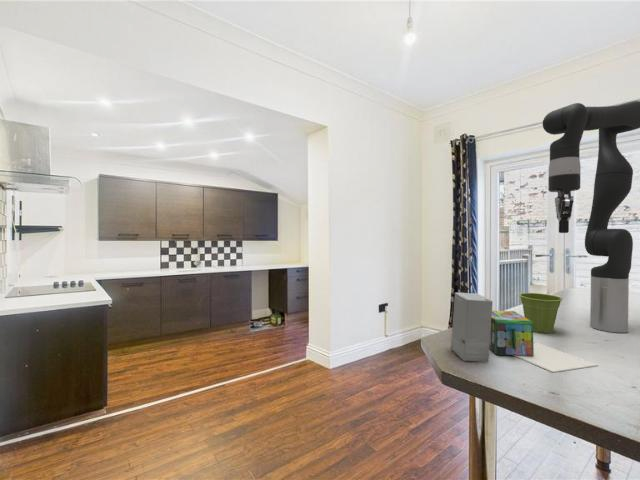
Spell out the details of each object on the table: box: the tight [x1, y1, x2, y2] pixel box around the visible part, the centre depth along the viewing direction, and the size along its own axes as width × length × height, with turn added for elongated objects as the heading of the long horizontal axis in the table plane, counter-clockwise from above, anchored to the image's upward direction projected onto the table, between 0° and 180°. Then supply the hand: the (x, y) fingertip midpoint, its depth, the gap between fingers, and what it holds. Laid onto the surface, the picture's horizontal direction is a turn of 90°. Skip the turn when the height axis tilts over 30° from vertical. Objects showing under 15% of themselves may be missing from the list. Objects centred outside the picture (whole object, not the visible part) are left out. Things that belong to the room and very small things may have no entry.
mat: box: [512, 342, 599, 374], centre depth 80 cm, size 16×14×1 cm
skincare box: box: [450, 292, 494, 363], centre depth 81 cm, size 8×7×16 cm
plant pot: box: [518, 292, 563, 334], centre depth 102 cm, size 12×12×11 cm
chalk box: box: [489, 310, 534, 356], centre depth 84 cm, size 9×9×15 cm
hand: (563, 232), depth 93 cm, fingers closed
